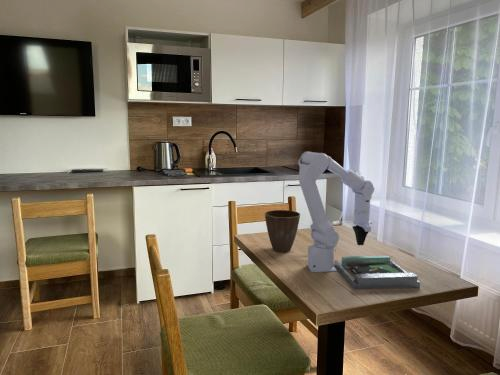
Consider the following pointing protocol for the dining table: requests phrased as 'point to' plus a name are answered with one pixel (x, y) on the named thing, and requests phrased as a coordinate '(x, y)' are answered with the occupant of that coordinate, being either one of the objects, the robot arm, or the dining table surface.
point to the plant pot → (282, 228)
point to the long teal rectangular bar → (364, 261)
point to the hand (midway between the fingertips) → (360, 244)
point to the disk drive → (373, 269)
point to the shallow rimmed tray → (381, 278)
